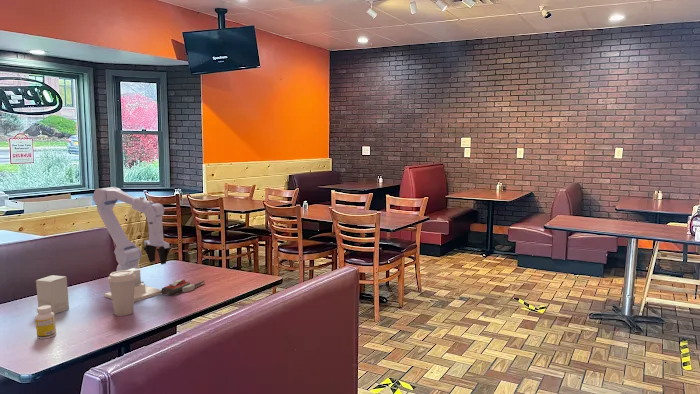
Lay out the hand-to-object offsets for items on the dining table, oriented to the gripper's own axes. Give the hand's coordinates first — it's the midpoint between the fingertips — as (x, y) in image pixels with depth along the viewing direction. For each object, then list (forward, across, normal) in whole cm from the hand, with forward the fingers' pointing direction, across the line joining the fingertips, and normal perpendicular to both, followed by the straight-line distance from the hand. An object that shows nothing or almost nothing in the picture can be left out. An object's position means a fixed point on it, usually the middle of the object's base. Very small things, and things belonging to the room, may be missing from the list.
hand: (157, 262), depth 221 cm
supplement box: (+10, -6, -41) cm, 43 cm away
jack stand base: (+10, +2, -13) cm, 17 cm away
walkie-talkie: (+11, +12, +3) cm, 17 cm away
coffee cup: (+11, +18, -28) cm, 35 cm away
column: (+6, +2, -13) cm, 15 cm away
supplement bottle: (+11, +16, -55) cm, 58 cm away
